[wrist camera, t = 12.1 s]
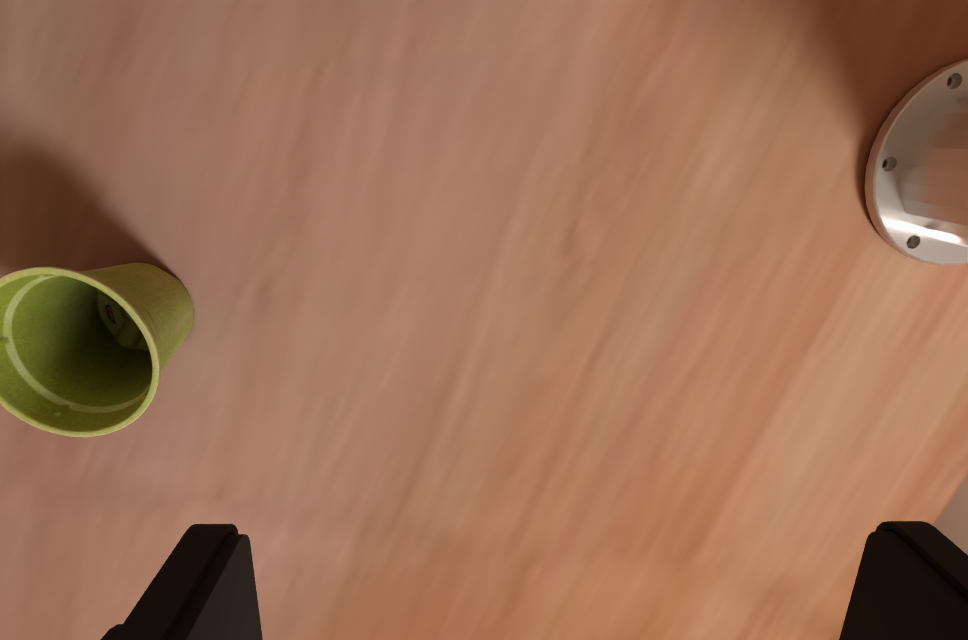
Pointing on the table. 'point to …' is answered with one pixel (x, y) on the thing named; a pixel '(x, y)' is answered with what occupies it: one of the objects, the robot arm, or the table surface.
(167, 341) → the plant pot
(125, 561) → the table surface
